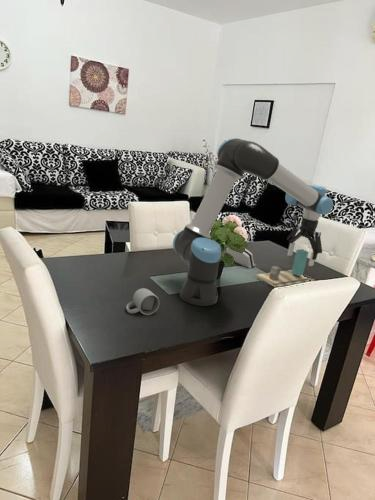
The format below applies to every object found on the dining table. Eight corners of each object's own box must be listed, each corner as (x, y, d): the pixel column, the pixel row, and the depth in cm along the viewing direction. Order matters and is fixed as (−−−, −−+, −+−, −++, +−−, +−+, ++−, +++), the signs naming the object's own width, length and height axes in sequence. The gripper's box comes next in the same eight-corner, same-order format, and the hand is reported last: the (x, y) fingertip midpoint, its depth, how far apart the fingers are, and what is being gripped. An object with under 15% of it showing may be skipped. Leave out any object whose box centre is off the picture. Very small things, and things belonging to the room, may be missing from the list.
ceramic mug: (149, 303, 145) (150, 284, 143) (158, 313, 138) (160, 294, 136) (122, 307, 140) (123, 288, 137) (131, 318, 133) (132, 298, 131)
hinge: (256, 267, 200) (255, 250, 195) (250, 271, 198) (249, 254, 192) (231, 256, 211) (230, 240, 206) (225, 260, 209) (224, 244, 204)
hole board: (274, 289, 175) (277, 274, 173) (253, 277, 186) (256, 263, 184) (315, 282, 191) (318, 268, 188) (293, 271, 201) (296, 258, 199)
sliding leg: (296, 277, 190) (303, 252, 186) (290, 273, 193) (296, 249, 189) (302, 276, 192) (308, 252, 188) (296, 273, 195) (302, 249, 191)
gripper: (337, 226, 176) (325, 269, 182) (296, 211, 195) (286, 251, 201) (327, 226, 171) (315, 270, 178) (285, 211, 191) (276, 252, 197)
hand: (299, 260), depth 190 cm, fingers open, 13 cm apart
